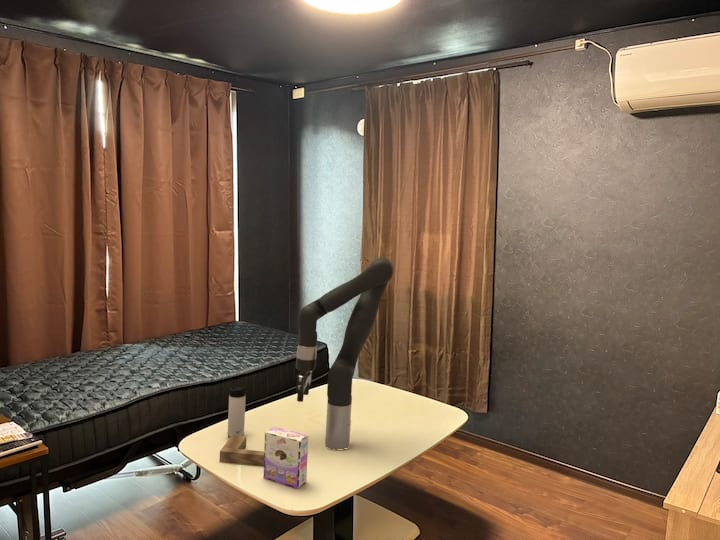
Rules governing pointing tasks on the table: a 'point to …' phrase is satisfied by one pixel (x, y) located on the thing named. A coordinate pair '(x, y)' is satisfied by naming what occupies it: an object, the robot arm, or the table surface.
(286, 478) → the candy box
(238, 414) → the travel mug
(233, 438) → the wooden u-shaped block
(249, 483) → the table surface
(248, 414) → the table surface
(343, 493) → the table surface
